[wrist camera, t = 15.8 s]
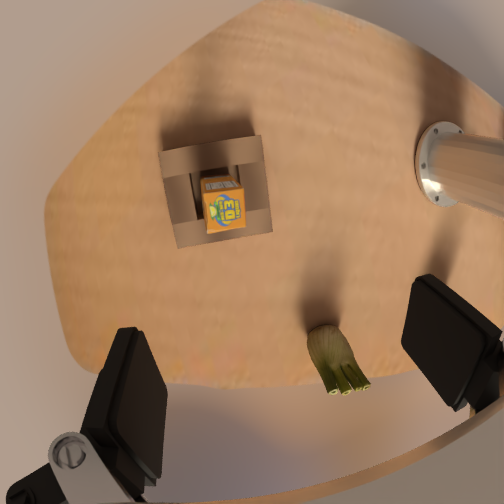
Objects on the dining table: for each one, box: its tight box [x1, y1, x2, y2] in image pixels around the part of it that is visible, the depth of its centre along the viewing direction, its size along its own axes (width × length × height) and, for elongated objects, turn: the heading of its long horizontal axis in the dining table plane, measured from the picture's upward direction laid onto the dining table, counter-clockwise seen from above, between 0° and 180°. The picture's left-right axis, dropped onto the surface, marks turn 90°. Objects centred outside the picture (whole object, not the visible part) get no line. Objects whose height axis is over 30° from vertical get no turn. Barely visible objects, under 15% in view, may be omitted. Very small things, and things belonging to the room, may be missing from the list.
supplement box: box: [200, 174, 246, 234], centre depth 26 cm, size 3×3×10 cm
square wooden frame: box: [158, 135, 273, 249], centre depth 30 cm, size 10×10×4 cm
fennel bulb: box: [307, 325, 371, 395], centre depth 36 cm, size 6×5×12 cm
